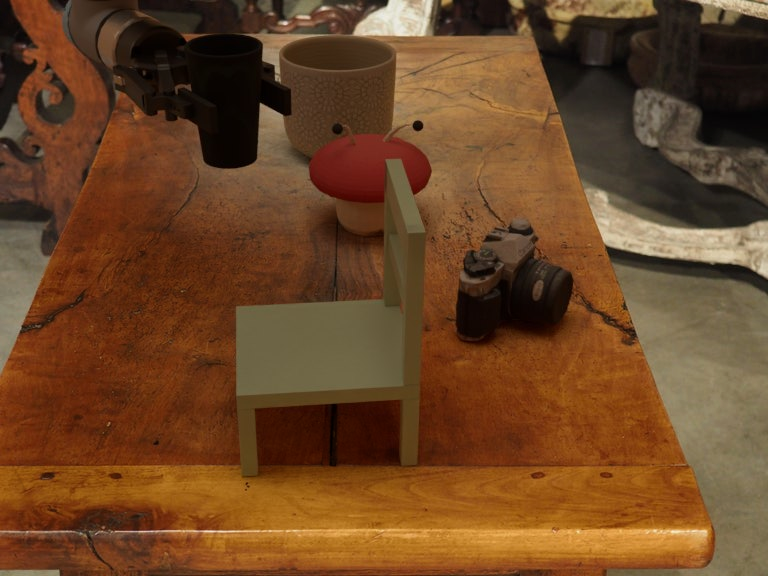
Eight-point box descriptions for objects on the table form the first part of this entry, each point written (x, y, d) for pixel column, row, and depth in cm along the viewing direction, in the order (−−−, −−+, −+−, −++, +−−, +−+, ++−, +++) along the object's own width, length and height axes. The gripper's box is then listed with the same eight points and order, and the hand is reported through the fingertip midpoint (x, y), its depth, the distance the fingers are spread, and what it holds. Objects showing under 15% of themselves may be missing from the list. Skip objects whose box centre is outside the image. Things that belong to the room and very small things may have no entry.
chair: (241, 477, 96) (225, 240, 84) (240, 381, 109) (226, 164, 97) (417, 465, 98) (426, 231, 86) (396, 372, 111) (401, 158, 99)
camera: (531, 364, 113) (539, 281, 108) (444, 337, 117) (448, 256, 112) (584, 299, 125) (594, 222, 120) (503, 276, 129) (510, 201, 124)
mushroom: (324, 258, 132) (322, 145, 125) (298, 204, 146) (295, 99, 138) (445, 244, 136) (450, 133, 129) (409, 193, 149) (412, 90, 142)
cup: (262, 141, 115) (258, 31, 109) (272, 169, 108) (267, 54, 103) (190, 146, 113) (181, 35, 107) (195, 175, 107) (186, 58, 101)
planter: (317, 182, 152) (315, 78, 144) (262, 143, 164) (258, 45, 157) (416, 158, 160) (419, 58, 152) (357, 122, 172) (357, 28, 165)
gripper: (227, 68, 127) (338, 125, 112) (62, 102, 116) (159, 171, 101) (223, 5, 124) (337, 55, 108) (52, 34, 113) (152, 95, 97)
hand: (251, 111), depth 104 cm, fingers closed on cup, 8 cm apart
